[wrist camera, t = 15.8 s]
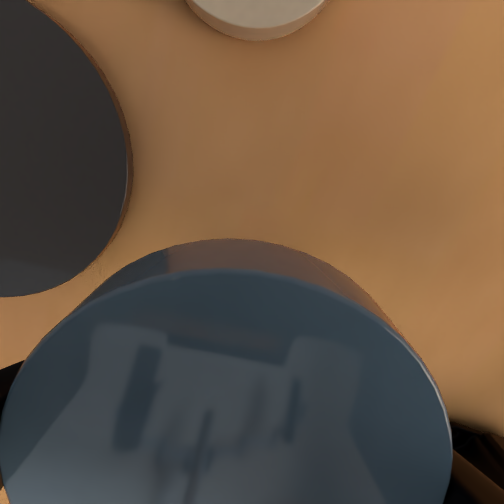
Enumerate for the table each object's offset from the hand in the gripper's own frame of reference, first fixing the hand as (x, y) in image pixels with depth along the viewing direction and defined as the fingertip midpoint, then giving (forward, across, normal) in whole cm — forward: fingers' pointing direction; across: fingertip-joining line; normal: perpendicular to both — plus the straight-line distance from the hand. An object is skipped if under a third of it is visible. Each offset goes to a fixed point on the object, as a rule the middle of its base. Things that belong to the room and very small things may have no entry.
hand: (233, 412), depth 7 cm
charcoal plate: (+11, +12, -2) cm, 16 cm away
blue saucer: (+1, 0, 0) cm, 1 cm away
